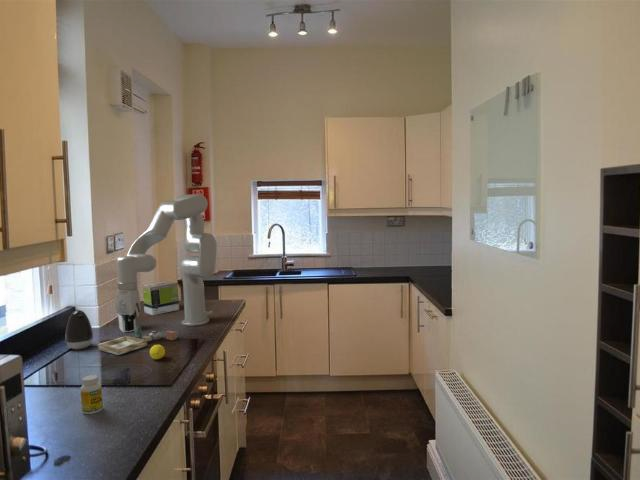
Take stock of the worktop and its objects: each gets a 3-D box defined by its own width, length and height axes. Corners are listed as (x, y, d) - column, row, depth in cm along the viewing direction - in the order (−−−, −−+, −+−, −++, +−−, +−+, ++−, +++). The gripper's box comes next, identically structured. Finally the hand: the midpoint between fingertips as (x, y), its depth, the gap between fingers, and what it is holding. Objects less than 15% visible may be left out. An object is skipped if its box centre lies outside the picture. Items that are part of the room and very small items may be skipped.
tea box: (170, 307, 272) (169, 280, 270) (179, 310, 264) (178, 282, 263) (143, 312, 261) (142, 284, 260) (152, 315, 254) (150, 286, 253)
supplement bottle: (93, 405, 145) (91, 373, 144) (107, 408, 143) (105, 375, 142) (77, 412, 140) (75, 379, 139) (91, 416, 138) (88, 382, 137)
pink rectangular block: (170, 337, 213) (170, 330, 213) (177, 338, 211) (176, 331, 211) (166, 338, 211) (165, 331, 211) (172, 340, 209) (172, 333, 209)
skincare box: (136, 330, 226) (134, 298, 224) (122, 333, 222) (120, 300, 221) (132, 327, 233) (130, 295, 231) (118, 329, 229) (116, 297, 228)
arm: (138, 337, 213) (137, 322, 212) (158, 342, 206) (158, 326, 205) (98, 349, 198) (96, 333, 197) (118, 355, 190) (117, 337, 190)
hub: (156, 336, 216) (155, 328, 215) (163, 337, 213) (163, 330, 213) (146, 339, 212) (146, 331, 211) (154, 340, 209) (153, 333, 209)
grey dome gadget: (72, 353, 195) (69, 314, 194) (62, 348, 202) (59, 311, 201) (98, 346, 203) (96, 309, 201) (87, 342, 210) (85, 306, 208)
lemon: (150, 358, 188) (149, 344, 188) (165, 357, 189) (164, 342, 189) (149, 361, 181) (148, 346, 181) (165, 360, 182) (164, 345, 183)
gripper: (107, 286, 207) (109, 330, 208) (133, 288, 200) (135, 334, 201) (122, 283, 214) (124, 326, 215) (147, 286, 206) (149, 330, 208)
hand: (129, 330), depth 208 cm, fingers closed
